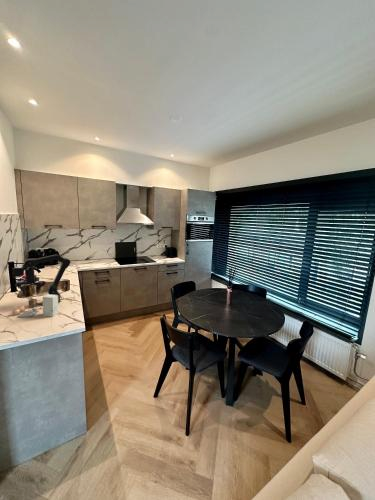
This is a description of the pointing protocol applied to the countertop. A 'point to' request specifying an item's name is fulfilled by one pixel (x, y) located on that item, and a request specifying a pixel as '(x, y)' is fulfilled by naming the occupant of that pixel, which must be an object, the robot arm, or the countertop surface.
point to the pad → (27, 314)
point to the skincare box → (50, 305)
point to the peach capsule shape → (16, 312)
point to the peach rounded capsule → (21, 309)
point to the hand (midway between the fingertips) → (31, 294)
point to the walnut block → (32, 303)
